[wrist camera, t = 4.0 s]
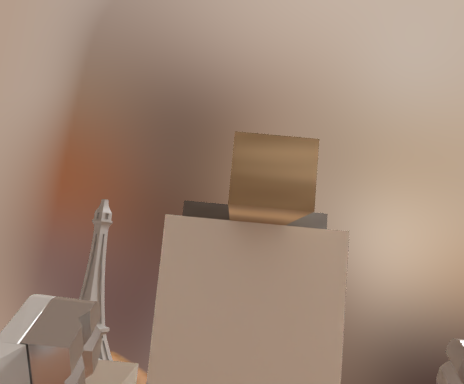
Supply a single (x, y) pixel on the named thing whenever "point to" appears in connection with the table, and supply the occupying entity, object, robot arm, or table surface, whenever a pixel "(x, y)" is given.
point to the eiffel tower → (98, 271)
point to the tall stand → (248, 304)
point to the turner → (269, 183)
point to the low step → (113, 373)
